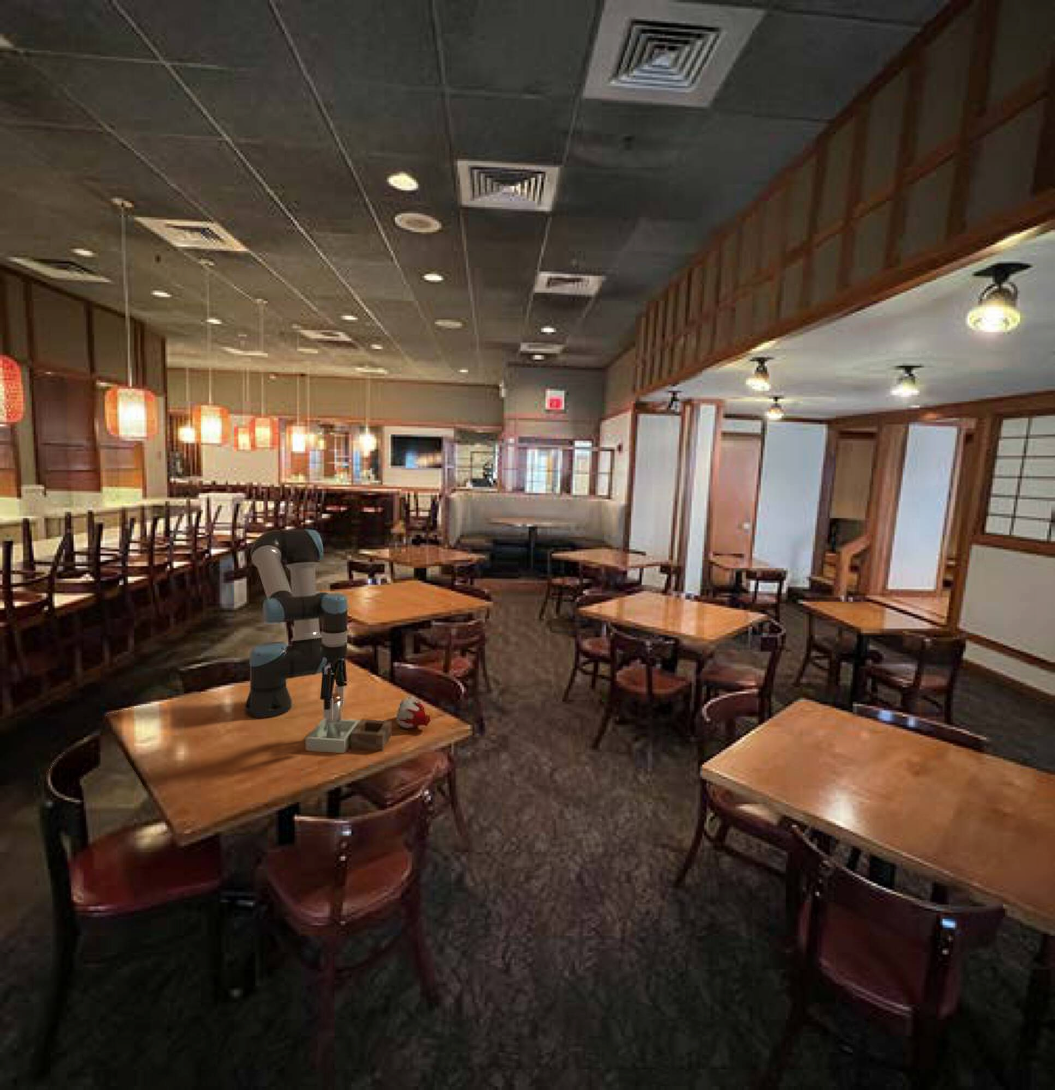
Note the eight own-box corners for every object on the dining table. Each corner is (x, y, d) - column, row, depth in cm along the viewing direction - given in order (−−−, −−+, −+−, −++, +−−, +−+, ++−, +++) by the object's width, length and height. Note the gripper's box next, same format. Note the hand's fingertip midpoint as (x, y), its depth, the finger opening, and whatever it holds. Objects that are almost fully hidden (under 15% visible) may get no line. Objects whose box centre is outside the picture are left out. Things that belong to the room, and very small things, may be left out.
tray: (324, 729, 184) (324, 718, 184) (359, 731, 184) (359, 720, 183) (305, 750, 170) (305, 738, 170) (344, 753, 170) (344, 740, 169)
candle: (403, 712, 198) (438, 727, 193) (383, 724, 188) (418, 741, 182) (407, 689, 197) (441, 704, 191) (386, 700, 187) (422, 716, 181)
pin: (329, 734, 179) (329, 692, 177) (342, 734, 179) (343, 693, 177) (324, 740, 175) (324, 698, 173) (337, 741, 175) (338, 699, 173)
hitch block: (361, 733, 183) (361, 719, 182) (391, 735, 182) (391, 721, 182) (350, 748, 173) (350, 733, 172) (382, 750, 173) (382, 735, 172)
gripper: (335, 632, 183) (335, 697, 186) (308, 653, 162) (307, 726, 165) (357, 634, 183) (357, 698, 186) (333, 655, 162) (332, 727, 165)
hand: (333, 711), depth 176 cm, fingers open, 8 cm apart
